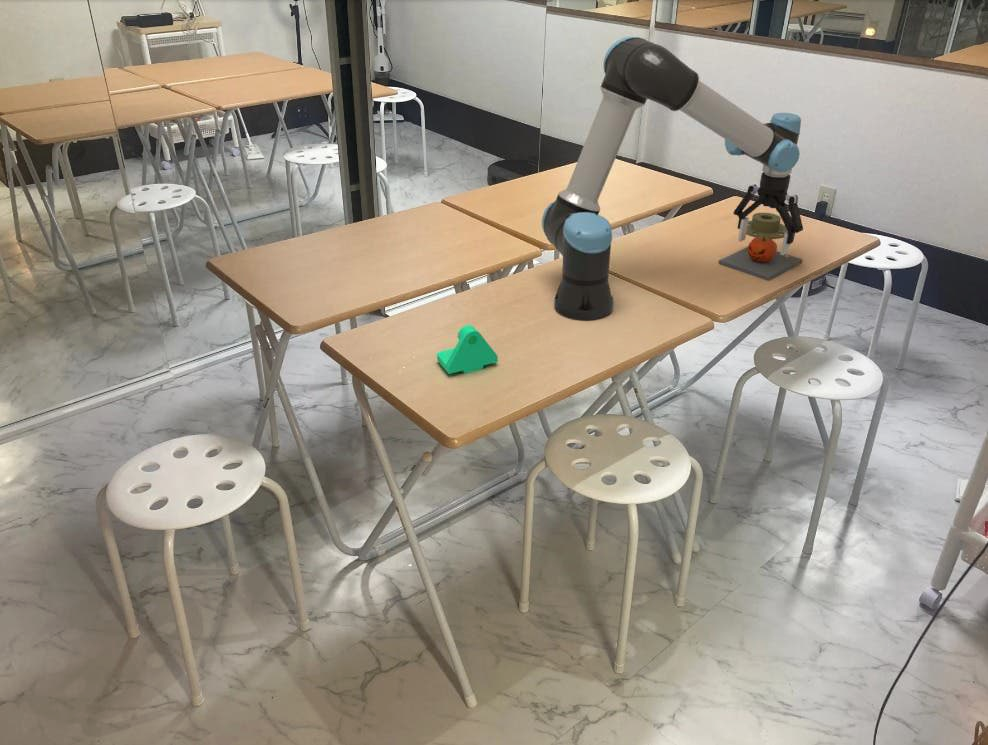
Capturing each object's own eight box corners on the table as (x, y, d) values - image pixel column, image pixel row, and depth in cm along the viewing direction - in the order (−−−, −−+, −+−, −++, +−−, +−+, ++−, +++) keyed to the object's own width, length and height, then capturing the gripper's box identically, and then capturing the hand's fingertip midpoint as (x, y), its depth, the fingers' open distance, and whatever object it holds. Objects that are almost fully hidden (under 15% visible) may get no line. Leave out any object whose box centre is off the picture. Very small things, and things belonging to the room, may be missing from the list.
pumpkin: (755, 252, 233) (759, 228, 229) (780, 260, 228) (784, 235, 224) (740, 259, 228) (744, 235, 224) (765, 267, 223) (770, 242, 219)
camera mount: (483, 350, 186) (482, 311, 181) (497, 365, 180) (497, 325, 175) (435, 362, 182) (433, 322, 177) (448, 378, 176) (447, 337, 171)
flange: (775, 229, 239) (801, 217, 248) (732, 217, 249) (758, 205, 258) (773, 244, 242) (798, 231, 251) (730, 231, 251) (756, 219, 260)
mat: (768, 280, 218) (769, 275, 218) (718, 263, 228) (719, 259, 228) (802, 262, 229) (802, 257, 228) (752, 247, 239) (753, 242, 238)
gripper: (826, 180, 209) (809, 256, 220) (743, 160, 225) (731, 231, 236) (812, 186, 205) (795, 263, 216) (728, 165, 221) (717, 238, 232)
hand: (762, 247), depth 226 cm, fingers open, 13 cm apart
